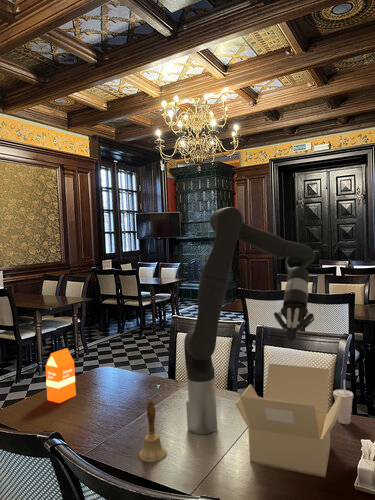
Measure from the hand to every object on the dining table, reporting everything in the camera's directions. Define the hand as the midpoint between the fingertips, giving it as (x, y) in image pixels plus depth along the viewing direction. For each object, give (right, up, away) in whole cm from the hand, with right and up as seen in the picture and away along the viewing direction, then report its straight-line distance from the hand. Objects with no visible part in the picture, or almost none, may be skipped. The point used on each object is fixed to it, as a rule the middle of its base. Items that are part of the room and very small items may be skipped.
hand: (291, 340), depth 116 cm
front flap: (-7, -16, -17) cm, 24 cm away
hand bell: (-42, -34, -3) cm, 54 cm away
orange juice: (-85, -35, +45) cm, 102 cm away
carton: (+1, -31, -2) cm, 31 cm away
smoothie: (+21, -30, +12) cm, 39 cm away
